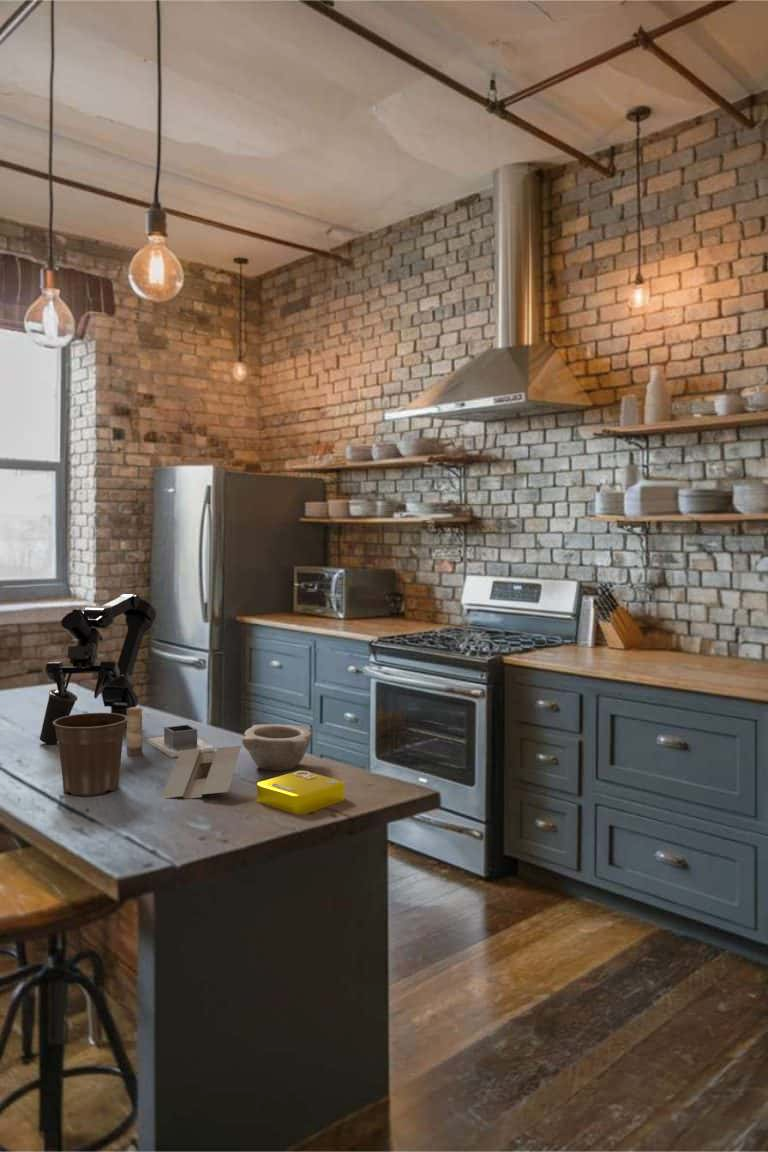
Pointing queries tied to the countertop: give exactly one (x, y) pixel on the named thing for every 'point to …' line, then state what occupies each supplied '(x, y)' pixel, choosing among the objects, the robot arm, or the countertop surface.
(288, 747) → the mortar
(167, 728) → the post socket base
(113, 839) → the countertop surface
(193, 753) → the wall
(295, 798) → the element tile
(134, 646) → the robot arm
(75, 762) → the plant pot
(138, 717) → the rail post
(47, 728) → the drinking cup
